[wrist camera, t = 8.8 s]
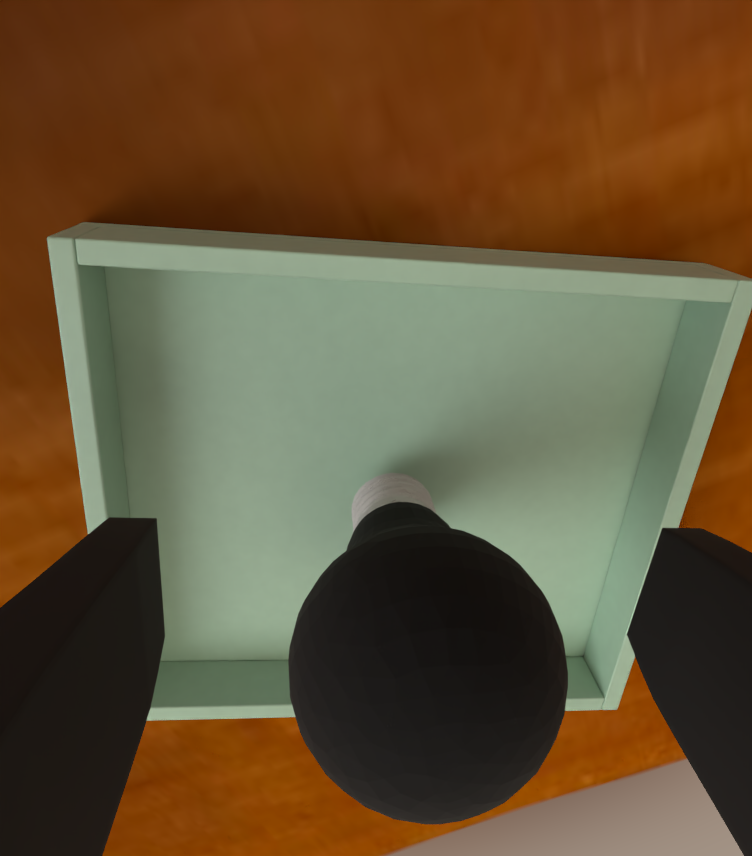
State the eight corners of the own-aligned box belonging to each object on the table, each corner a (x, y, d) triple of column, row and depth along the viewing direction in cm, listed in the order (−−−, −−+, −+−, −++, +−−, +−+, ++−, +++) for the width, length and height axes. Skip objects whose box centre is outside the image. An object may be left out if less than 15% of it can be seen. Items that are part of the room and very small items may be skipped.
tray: (132, 663, 22) (113, 722, 20) (82, 221, 16) (45, 235, 14) (589, 657, 24) (617, 710, 22) (705, 262, 18) (761, 281, 16)
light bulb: (263, 449, 19) (221, 742, 10) (447, 378, 18) (579, 616, 9) (337, 590, 21) (358, 926, 12) (500, 531, 21) (645, 833, 12)
